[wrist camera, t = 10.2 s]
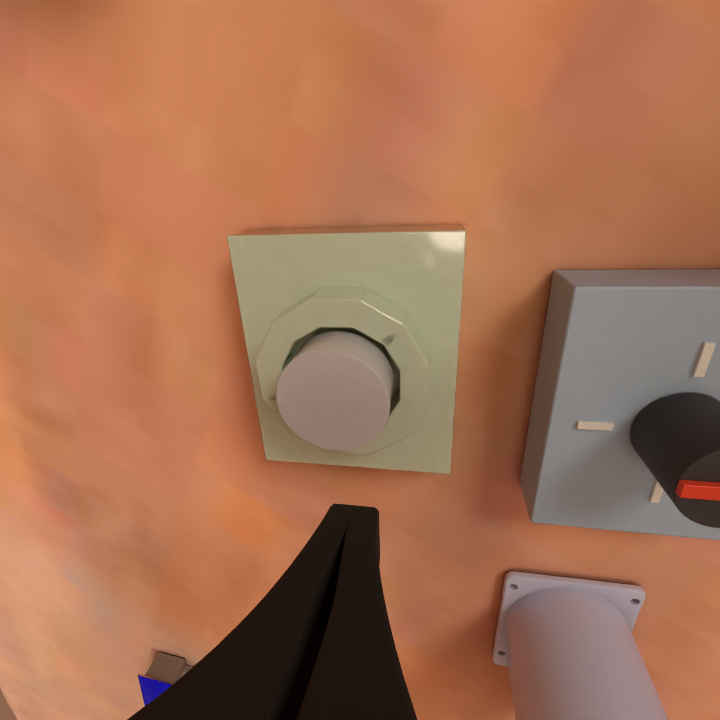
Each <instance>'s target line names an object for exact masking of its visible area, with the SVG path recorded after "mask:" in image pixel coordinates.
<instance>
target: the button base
mask: <svg viewBox="0 0 720 720" xmlns="http://www.w3.org/2000/svg"><path fill="white" fill-rule="evenodd" d="M227 239H228V245H229V251H230V256H231V262H232V268H233V273H234V279H235V285H236V291H237V296H238V302H239V308H240V313H241V319H242V325H243V331H244V336H245V342H246V348H247V353H248V359H249V365H250V371H251V376H252V382H253V388H254V393H255V399H256V405H257V411H258V416H259V422H260V428H261V434H262V439H263V445H264V451H265V456H266V460H274V461H287V462H300V463H313V464H326V465H338V466H351V467H364V468H377V469H390V470H403V471H416V472H429V473H442V474H450V468H451V453H452V438H453V423H454V408H455V394H456V379H457V364H458V349H459V334H460V319H461V304H462V289H463V274H464V259H465V244H466V230H465V228H464V226H463V225H462V224H452V225H412V226H371V227H331V228H290V229H250V230H245V231H242V232H239V233H235V234H232V235H229V236H227ZM331 331H344V332H350V333H354V334H357V335H360V336H362V337H364V338H366V339H368V340H369V341H371V342H372V343H374V344H375V345H376V346H377V347H378V348H379V349H380V350H381V351H382V352H383V353H384V355H385V356H386V357H387V359H388V361H389V363H390V365H391V367H392V370H393V375H394V391H393V397H392V402H391V407H390V413H389V417H388V421H387V423H386V426H385V427H384V429H383V431H382V432H381V433H380V434H379V436H377V437H376V438H375V439H374V440H373V441H371V442H370V443H368V444H367V445H365V446H363V447H360V448H357V449H353V450H347V451H333V450H327V449H322V448H319V447H316V446H314V445H312V444H310V443H308V442H306V441H304V440H303V439H301V438H300V437H299V436H297V435H296V434H295V433H294V432H293V431H292V430H291V429H290V428H289V427H288V426H287V424H286V423H285V421H284V420H283V418H282V416H281V414H280V412H279V409H278V406H277V401H276V387H277V382H278V379H279V377H280V375H281V373H282V371H283V369H284V368H285V367H286V366H287V364H288V363H289V362H290V360H291V359H292V358H293V356H294V355H295V354H296V352H297V351H298V350H299V349H300V347H301V346H302V345H303V344H304V343H305V342H306V341H308V340H309V339H311V338H312V337H314V336H316V335H319V334H322V333H325V332H331Z"/></svg>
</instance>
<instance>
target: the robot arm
mask: <svg viewBox="0 0 720 720" xmlns="http://www.w3.org/2000/svg"><path fill="white" fill-rule="evenodd" d="M379 562H380V537H379V511H378V510H377V509H376V508H375V507H365V506H354V505H344V504H333V505H332V506H331V507H330V509H329V510H328V512H327V514H326V515H325V517H324V518H323V520H322V522H321V523H320V525H319V526H318V528H317V529H316V531H315V532H314V534H313V535H312V537H311V538H310V539H309V541H308V542H307V544H306V545H305V546H304V548H303V549H302V551H301V552H300V553H299V555H298V556H297V557H296V559H295V560H294V561H293V563H292V564H291V565H290V567H289V568H288V569H287V570H286V572H285V573H284V574H283V575H282V576H281V578H280V579H279V580H278V581H277V583H276V584H275V585H274V586H273V587H272V589H271V590H270V591H269V592H268V593H267V594H266V596H265V597H264V598H263V599H262V600H261V601H260V602H259V603H258V605H257V606H256V607H255V608H254V609H253V610H252V611H251V612H250V613H249V614H248V615H247V616H246V617H245V618H244V619H243V621H242V622H241V623H240V624H239V625H238V626H237V627H236V628H235V629H234V630H232V631H231V632H230V633H229V634H228V635H227V636H226V637H225V638H224V639H223V640H222V641H221V642H220V643H219V644H218V645H217V646H216V647H215V648H214V649H213V650H212V651H211V652H210V653H208V654H207V655H206V656H205V657H204V658H203V659H202V660H201V661H199V662H198V663H197V664H196V665H195V666H194V667H192V668H191V669H190V670H189V671H188V672H187V673H185V674H184V675H183V676H182V677H181V678H180V679H178V680H177V681H176V682H175V683H174V684H172V685H171V686H170V687H169V688H168V689H166V690H165V691H164V692H163V693H162V694H160V695H159V696H158V697H156V698H155V699H154V700H153V701H151V702H150V703H149V704H147V705H146V706H145V707H143V708H142V709H141V710H139V711H138V712H137V713H135V714H134V715H133V716H131V717H130V718H129V719H127V720H417V717H416V714H415V711H414V708H413V705H412V702H411V698H410V695H409V692H408V689H407V686H406V682H405V679H404V676H403V673H402V669H401V666H400V662H399V659H398V655H397V651H396V648H395V644H394V640H393V636H392V632H391V628H390V623H389V619H388V614H387V610H386V605H385V600H384V595H383V589H382V583H381V577H380V570H379ZM645 597H646V594H645V592H644V590H643V589H642V587H640V586H637V585H629V584H621V583H612V582H603V581H594V580H586V579H577V578H568V577H559V576H551V575H542V574H533V573H524V572H516V571H511V572H508V573H507V574H506V575H505V580H504V586H503V592H502V598H501V604H500V610H499V617H498V623H497V629H496V635H495V641H494V647H493V654H492V658H493V662H494V663H495V664H497V665H501V666H507V667H508V672H509V679H510V685H511V692H512V698H513V705H514V712H515V718H516V720H669V719H668V716H667V714H666V712H665V709H664V707H663V705H662V702H661V700H660V698H659V696H658V693H657V691H656V689H655V686H654V684H653V682H652V679H651V677H650V675H649V672H648V670H647V668H646V665H645V663H644V661H643V658H642V656H641V654H640V651H639V649H638V647H637V645H636V642H635V640H634V638H633V635H632V630H633V627H634V625H635V622H636V620H637V617H638V615H639V612H640V610H641V607H642V605H643V602H644V599H645Z"/></svg>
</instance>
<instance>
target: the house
mask: <svg viewBox="0 0 720 720" xmlns="http://www.w3.org/2000/svg"><path fill="white" fill-rule="evenodd" d="M191 668H192V667H191V666H188V665H186V663H185V659H182V658H179V657H175V656H171V655H167V654H164V653H160V652H158V653H157V655H156V657H155V659H154V660H153V662H152V664H151V666H150V667H149V669H148V671H147V672H146V674H145V675H141V674H138V678H139V682H140V686H141V691H142V695H143V700H144V704H145V706H146V705H147V704H149V703H150V702H151V701H153V700H154V699H155V698H156V697H158V696H159V695H160V694H162V693H163V692H164V691H165V690H166V689H168V688H169V687H170V686H171V685H172V684H174V683H175V682H176V681H177V680H178V679H180V678H181V677H182V676H183V675H184V674H185V673H187V672H188V671H189V670H190V669H191Z"/></svg>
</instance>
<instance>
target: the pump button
mask: <svg viewBox="0 0 720 720" xmlns="http://www.w3.org/2000/svg"><path fill="white" fill-rule="evenodd" d="M393 391H394V375H393V370H392V367H391V365H390V363H389V361H388V359H387V357H386V356H385V355H384V353H383V352H382V351H381V350H380V349H379V348H378V347H377V346H376V345H375V344H374V343H372V342H371V341H369V340H368V339H366V338H364V337H362V336H360V335H357V334H354V333H350V332H344V331H331V332H325V333H322V334H319V335H316V336H314V337H312V338H311V339H309V340H308V341H306V342H305V343H304V344H303V345H302V346H301V347H300V349H299V350H298V351H297V352H296V354H295V355H294V356H293V358H292V359H291V360H290V362H289V363H288V364H287V366H286V367H285V368H284V369H283V371H282V373H281V375H280V377H279V379H278V382H277V387H276V401H277V406H278V409H279V412H280V414H281V416H282V418H283V420H284V421H285V423H286V424H287V426H288V427H289V428H290V429H291V430H292V431H293V432H294V433H295V434H296V435H297V436H299V437H300V438H301V439H303V440H304V441H306V442H308V443H310V444H312V445H314V446H316V447H319V448H322V449H327V450H333V451H347V450H353V449H357V448H360V447H363V446H365V445H367V444H368V443H370V442H371V441H373V440H374V439H375V438H376V437H377V436H379V434H380V433H381V432H382V431H383V429H384V427H385V426H386V423H387V421H388V417H389V413H390V407H391V402H392V397H393Z"/></svg>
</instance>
